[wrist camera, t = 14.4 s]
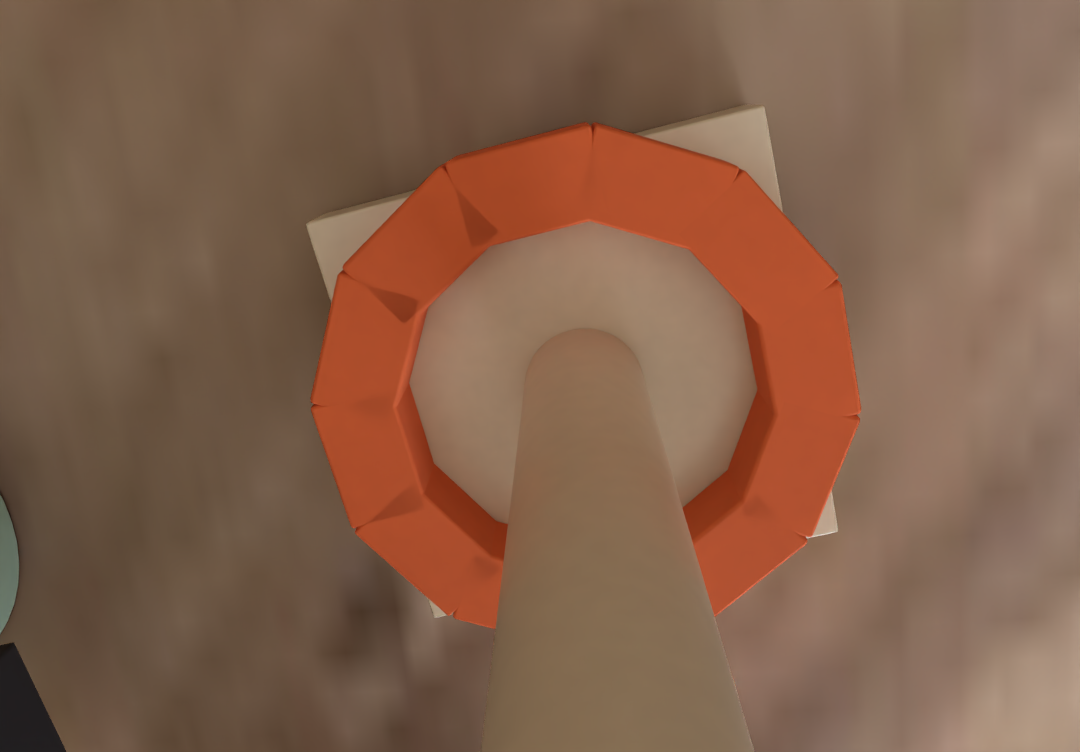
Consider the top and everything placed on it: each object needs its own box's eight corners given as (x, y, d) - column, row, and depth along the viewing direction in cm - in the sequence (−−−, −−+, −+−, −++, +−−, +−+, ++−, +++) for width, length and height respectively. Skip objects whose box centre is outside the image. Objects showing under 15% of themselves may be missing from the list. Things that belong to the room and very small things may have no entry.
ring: (417, 642, 20) (405, 687, 19) (269, 204, 18) (241, 215, 16) (864, 548, 19) (891, 587, 18) (785, 69, 17) (808, 67, 15)
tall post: (441, 584, 22) (186, 1649, 7) (323, 213, 19) (-493, 628, 4) (820, 502, 21) (1462, 1509, 6) (749, 103, 18) (1557, 146, 3)
